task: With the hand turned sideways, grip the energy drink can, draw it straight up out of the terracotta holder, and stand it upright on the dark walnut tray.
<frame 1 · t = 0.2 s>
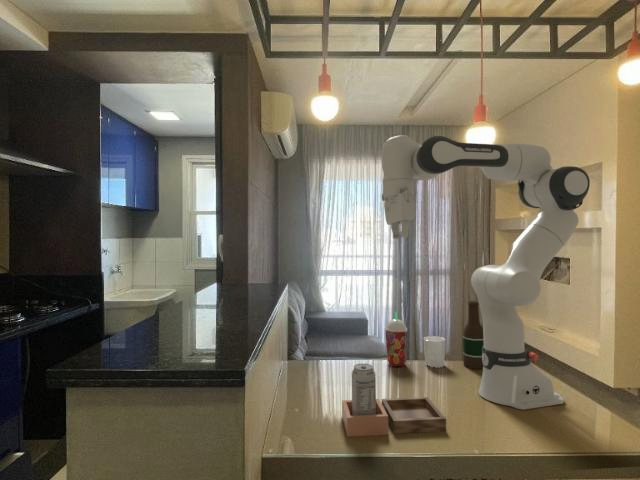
hand: (400, 238, 111), 48 cm above the counter, tool pointing down, fingers open, 8 cm apart
energy drink can: (364, 426, 95), resting in holder
beer bottle: (474, 366, 140), on the counter
holder: (364, 425, 95), on the counter
smoothie: (396, 365, 143), on the counter
tray: (411, 419, 98), on the counter
white cup: (434, 365, 142), on the counter
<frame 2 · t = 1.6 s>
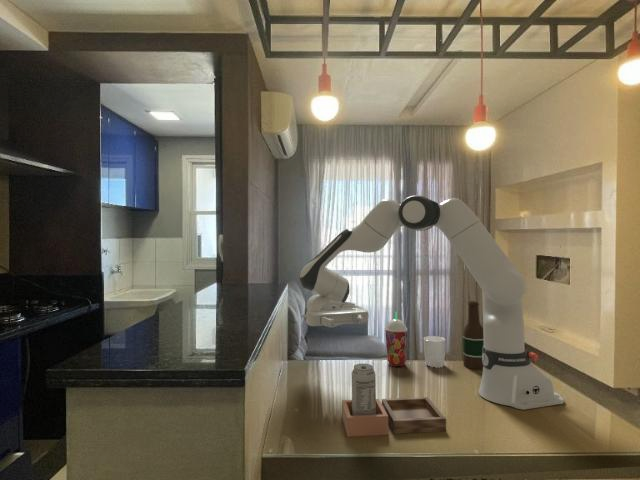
hand: (346, 322, 112), 23 cm above the counter, tool horizontal, fingers open, 8 cm apart
nothing on the counter moved.
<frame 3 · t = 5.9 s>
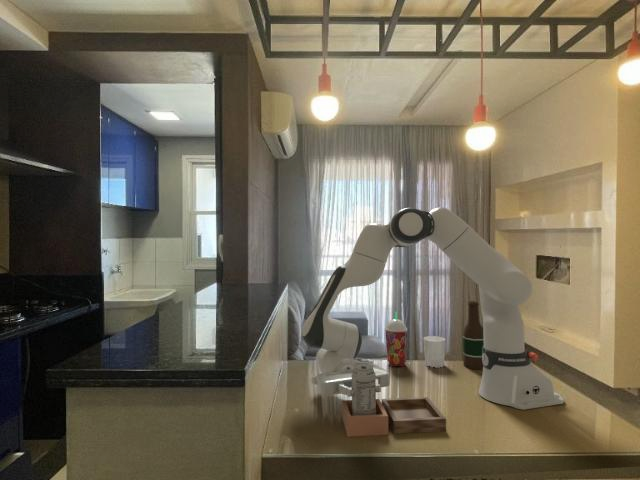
hand: (365, 391, 95), 9 cm above the counter, tool horizontal, fingers closed on energy drink can, 6 cm apart
energy drink can: (364, 426, 95), resting in holder, touching gripper
everything else where it was.
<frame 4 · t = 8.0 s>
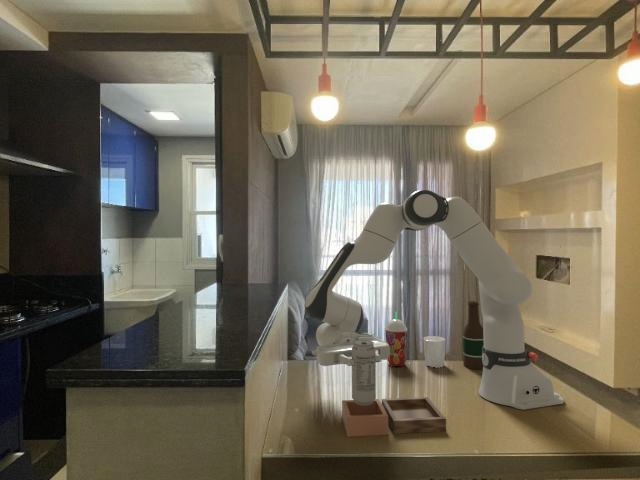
hand: (365, 360, 95), 17 cm above the counter, tool horizontal, fingers closed on energy drink can, 6 cm apart
energy drink can: (363, 401, 96), point 6 cm above the counter, touching gripper
everything else where it was.
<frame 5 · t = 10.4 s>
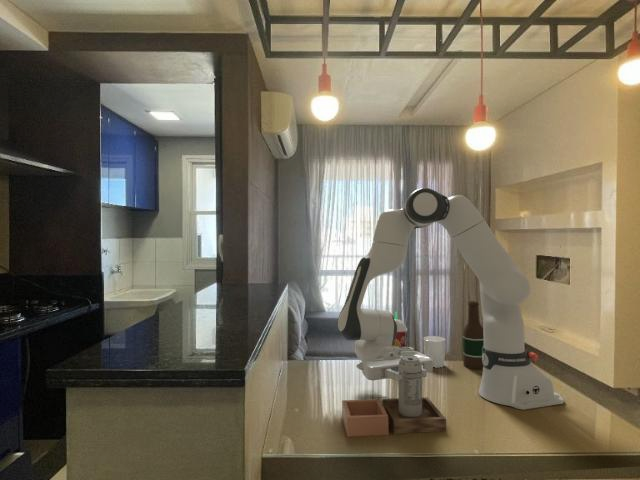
hand: (412, 375, 98), 12 cm above the counter, tool horizontal, fingers closed on energy drink can, 6 cm apart
energy drink can: (410, 415, 99), point 1 cm above the counter, touching gripper, tray
everything else where it was.
when the fingers open (12 cm above the counter, at t = 10.7 s): energy drink can stays where it is, resting on tray.
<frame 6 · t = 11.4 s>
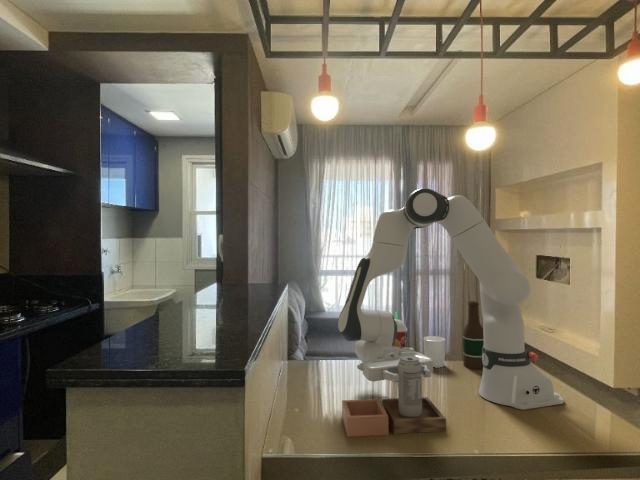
hand: (413, 376, 98), 12 cm above the counter, tool horizontal, fingers open, 8 cm apart
energy drink can: (410, 416, 99), point 1 cm above the counter, touching tray
everything else where it was.
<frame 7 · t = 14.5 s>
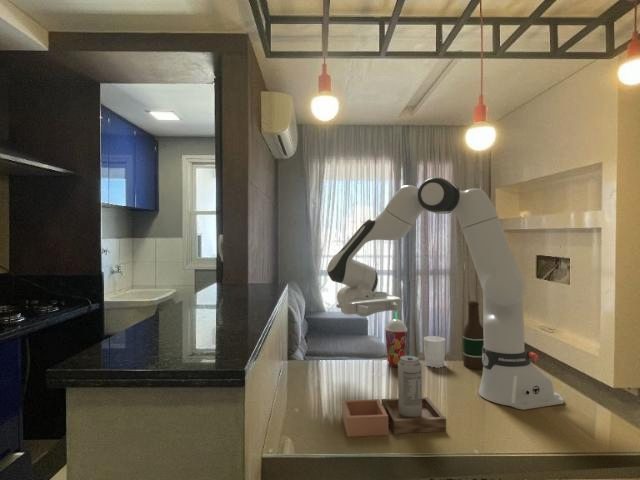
hand: (382, 308, 114), 26 cm above the counter, tool horizontal, fingers open, 8 cm apart
nothing on the counter moved.
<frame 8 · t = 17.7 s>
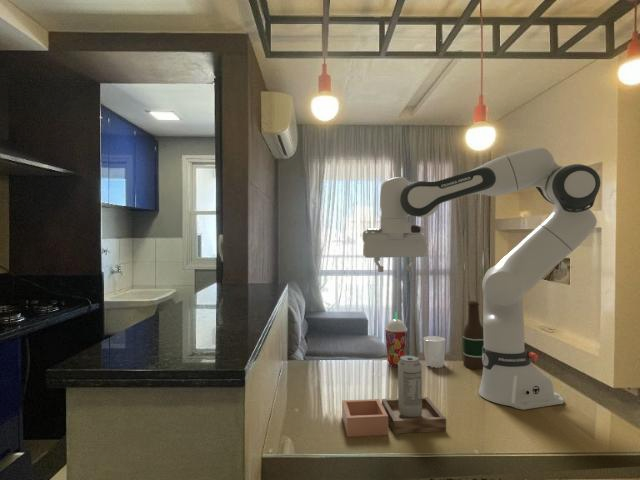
hand: (395, 271, 121), 37 cm above the counter, tool pointing down, fingers open, 8 cm apart
nothing on the counter moved.
at the end: energy drink can inside the target area on the tray (0.5 cm from its centre), point 0.8 cm above the tray's base; energy drink can tilted 0°; the gripper is holding nothing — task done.
